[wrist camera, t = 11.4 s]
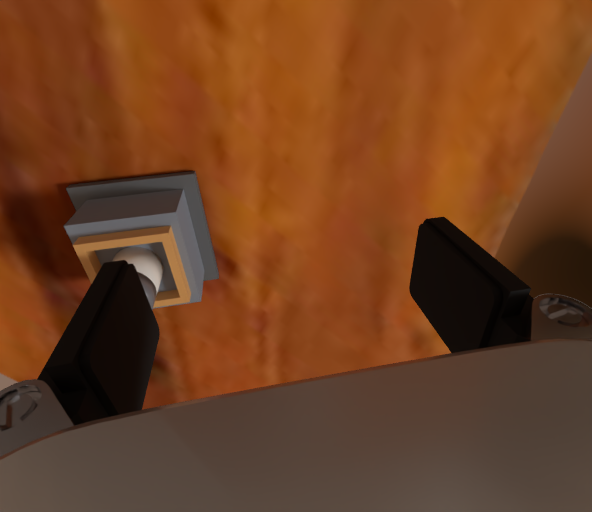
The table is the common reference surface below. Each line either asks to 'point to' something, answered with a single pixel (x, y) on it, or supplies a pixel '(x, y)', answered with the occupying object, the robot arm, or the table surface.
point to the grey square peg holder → (146, 229)
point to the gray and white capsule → (144, 268)
